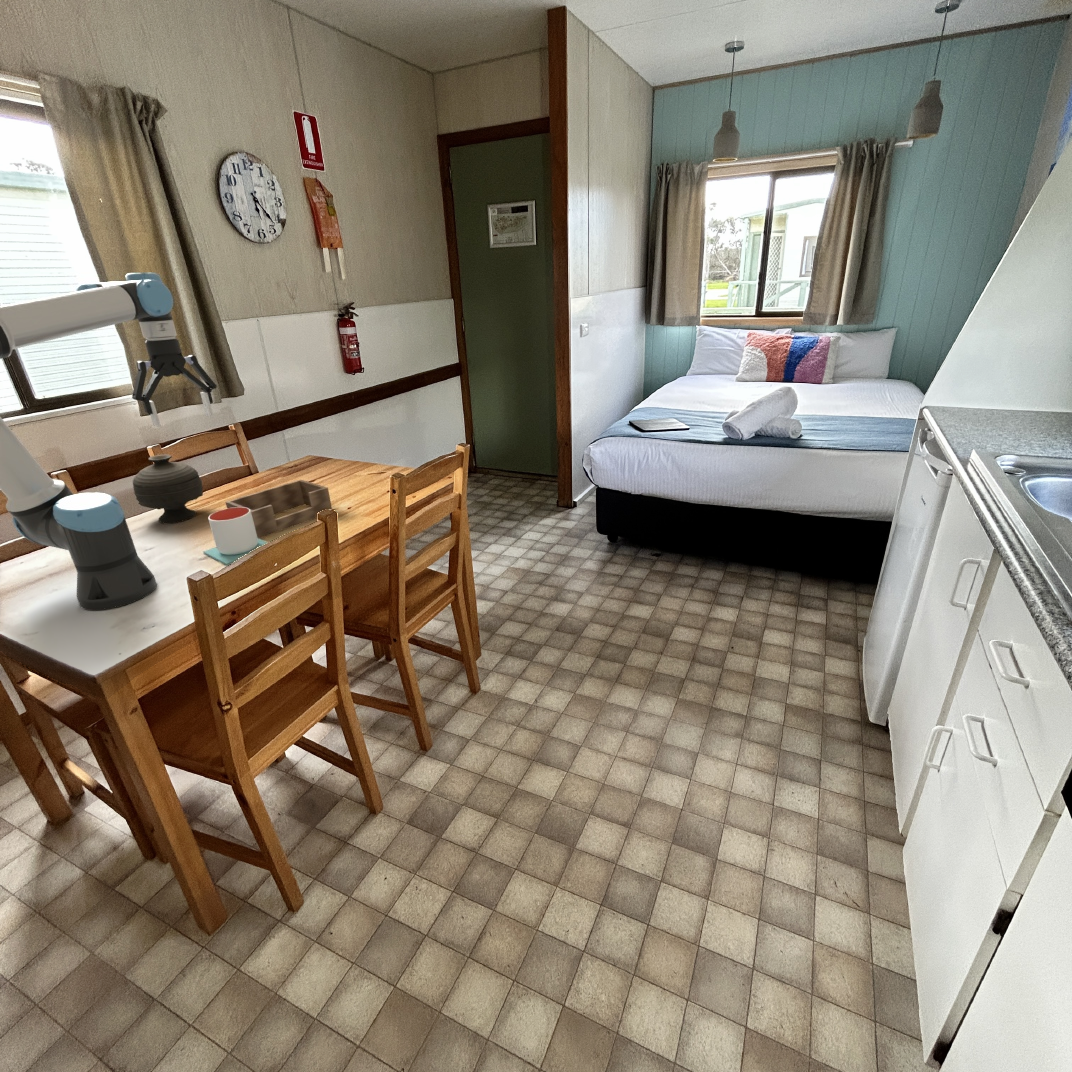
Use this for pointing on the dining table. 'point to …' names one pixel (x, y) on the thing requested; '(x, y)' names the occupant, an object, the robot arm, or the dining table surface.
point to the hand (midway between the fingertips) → (184, 421)
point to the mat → (228, 558)
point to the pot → (168, 488)
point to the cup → (233, 530)
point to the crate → (283, 505)
